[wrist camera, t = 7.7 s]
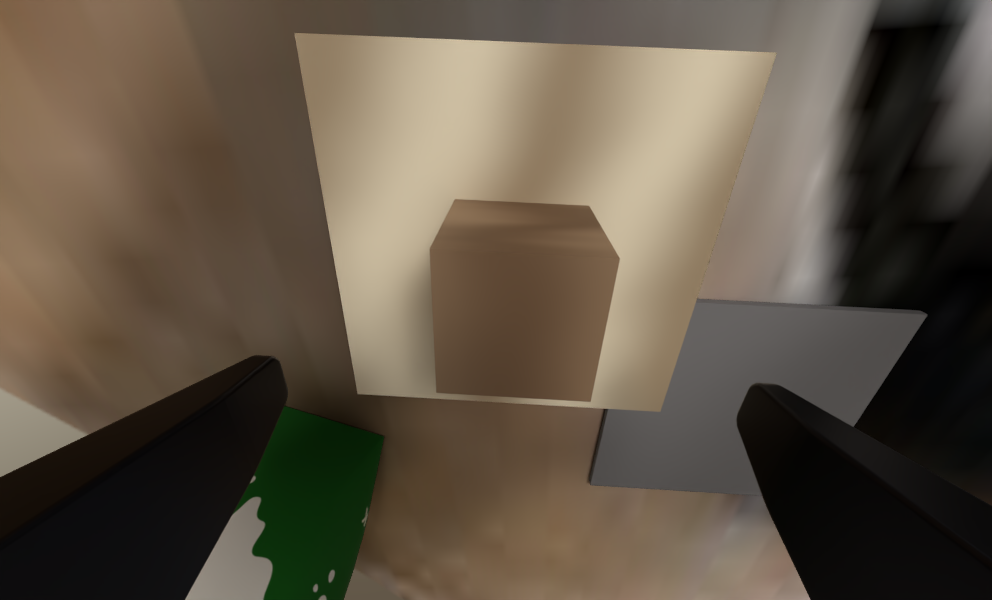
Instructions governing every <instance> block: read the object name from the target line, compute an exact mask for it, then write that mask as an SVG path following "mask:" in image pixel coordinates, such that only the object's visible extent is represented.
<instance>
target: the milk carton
mask: <svg viewBox="0 0 992 600" xmlns="http://www.w3.org/2000/svg"><path fill="white" fill-rule="evenodd" d="M383 441H384V436H381V435H378V434H375V433H371V432H368V431H365V430H361V429H358V428H355V427H352V426H348V425H345V424H342V423H339V422H335V421H332V420H329V419H325V418H322V417H319V416H316V415H312V414H309V413H306V412H302V411H299V410H296V409H293V408H289V407H286V406H284V408H283V411H282V413H281V415H280V417H279V420H278V422H277V424H276V427H275V429H274V431H273V434H272V436H271V438H270V441H269V443H268V445H267V448H266V450H265V452H264V455H263V457H262V459H261V462H260V464H259V466H258V468H257V470H256V472H255V474H254V476H253V478H252V480H251V482H250V484H249V486H248V488H247V489H246V491H245V493H244V495H243V497H242V498H241V500H240V502H239V504H238V506H237V507H236V509H235V511H234V513H233V515H232V516H231V518H230V520H229V522H228V524H227V525H226V527H225V529H224V531H223V532H222V534H221V536H220V538H219V540H218V541H217V543H216V545H215V547H214V549H213V550H212V552H211V554H210V556H209V558H208V559H207V561H206V563H205V565H204V567H203V568H202V570H201V572H200V574H199V576H198V577H197V579H196V581H195V583H194V585H193V586H192V588H191V590H190V592H189V594H188V595H187V597H186V599H185V600H344V597H345V594H346V591H347V588H348V585H349V582H350V579H351V576H352V573H353V570H354V566H355V563H356V559H357V555H358V552H359V548H360V545H361V542H362V538H363V535H364V531H365V527H366V522H367V518H368V513H369V508H370V504H371V499H372V494H373V489H374V484H375V479H376V475H377V470H378V465H379V460H380V455H381V450H382V445H383Z"/></svg>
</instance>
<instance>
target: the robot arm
mask: <svg viewBox="0 0 992 600" xmlns="http://www.w3.org/2000/svg"><path fill="white" fill-rule="evenodd" d="M287 397H288V388H287V384H286V381H285V377H284V374H283V370H282V367H281V363H280V361H279V360H278V358H276V357H274V356H262V355H255V356H251V357H249V358H247V359H245V360H243V361H241V362H239V363H237V364H235V365H232V366H230V367H228V368H226V369H224V370H222V371H220V372H218V373H216V374H214V375H212V376H210V377H208V378H205V379H203V380H201V381H199V382H197V383H195V384H193V385H191V386H189V387H187V388H185V389H183V390H180V391H178V392H176V393H174V394H172V395H170V396H168V397H166V398H164V399H162V400H160V401H158V402H156V403H153V404H151V405H149V406H147V407H145V408H143V409H141V410H139V411H137V412H135V413H133V414H131V415H129V416H126V417H124V418H122V419H120V420H118V421H116V422H114V423H112V424H110V425H108V426H106V427H104V428H101V429H99V430H97V431H95V432H93V433H91V434H89V435H87V436H85V437H83V438H81V439H79V440H77V441H75V442H72V443H70V444H68V445H66V446H64V447H62V448H60V449H58V450H56V451H54V452H52V453H50V454H47V455H45V456H43V457H41V458H39V459H37V460H35V461H33V462H31V463H29V464H27V465H25V466H23V467H20V468H18V469H16V470H14V471H12V472H10V473H8V474H6V475H4V476H2V477H0V600H185V599H186V597H187V595H188V594H189V592H190V590H191V588H192V586H193V585H194V583H195V581H196V579H197V577H198V576H199V574H200V572H201V570H202V568H203V567H204V565H205V563H206V561H207V559H208V558H209V556H210V554H211V552H212V550H213V549H214V547H215V545H216V543H217V541H218V540H219V538H220V536H221V534H222V532H223V531H224V529H225V527H226V525H227V524H228V522H229V520H230V518H231V516H232V515H233V513H234V511H235V509H236V507H237V506H238V504H239V502H240V500H241V498H242V497H243V495H244V493H245V491H246V489H247V488H248V486H249V484H250V482H251V480H252V478H253V476H254V474H255V472H256V470H257V468H258V466H259V464H260V462H261V459H262V457H263V455H264V452H265V450H266V448H267V445H268V443H269V441H270V438H271V436H272V434H273V431H274V429H275V427H276V424H277V422H278V420H279V417H280V415H281V413H282V411H283V408H284V406H285V404H286V401H287ZM736 423H737V428H738V431H739V434H740V436H741V439H742V442H743V445H744V447H745V450H746V453H747V456H748V458H749V461H750V464H751V467H752V469H753V472H754V475H755V478H756V480H757V483H758V486H759V489H760V491H761V494H762V497H763V499H764V502H765V504H766V506H767V509H768V511H769V513H770V515H771V518H772V520H773V522H774V524H775V526H776V528H777V530H778V532H779V534H780V537H781V539H782V541H783V543H784V545H785V547H786V549H787V551H788V553H789V555H790V557H791V560H792V562H793V564H794V566H795V568H796V570H797V572H798V574H799V576H800V578H801V581H802V583H803V585H804V587H805V589H806V591H807V593H808V595H809V597H810V599H811V600H992V506H991V505H989V504H988V503H986V502H984V501H982V500H981V499H979V498H977V497H975V496H973V495H972V494H970V493H968V492H966V491H965V490H963V489H961V488H959V487H958V486H956V485H954V484H952V483H951V482H949V481H947V480H945V479H944V478H942V477H940V476H938V475H937V474H935V473H933V472H931V471H930V470H928V469H926V468H924V467H923V466H921V465H919V464H917V463H916V462H914V461H912V460H910V459H909V458H907V457H905V456H903V455H902V454H900V453H898V452H896V451H895V450H893V449H891V448H889V447H888V446H886V445H884V444H882V443H881V442H879V441H877V440H875V439H873V438H872V437H870V436H868V435H866V434H865V433H863V432H861V431H859V430H858V429H856V428H854V427H852V426H851V425H849V424H847V423H845V422H844V421H842V420H840V419H838V418H837V417H835V416H833V415H831V414H830V413H828V412H826V411H824V410H823V409H821V408H819V407H817V406H816V405H814V404H812V403H810V402H809V401H807V400H805V399H803V398H802V397H800V396H798V395H796V394H795V393H793V392H791V391H789V390H788V389H786V388H784V387H782V386H780V385H778V384H773V383H754V384H752V385H751V386H750V387H749V389H748V391H747V393H746V395H745V397H744V400H743V402H742V404H741V406H740V408H739V411H738V413H737V418H736Z"/></svg>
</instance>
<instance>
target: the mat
mask: <svg viewBox="0 0 992 600" xmlns="http://www.w3.org/2000/svg"><path fill="white" fill-rule="evenodd" d="M926 316H927V314H925V313H924V312H922V311H920V310H901V309H882V308H863V307H844V306H825V305H806V304H786V303H767V302H748V301H729V300H710V299H697V300H696V304H695V307H694V310H693V313H692V316H691V319H690V322H689V325H688V328H687V331H686V334H685V337H684V340H683V344H682V347H681V350H680V353H679V356H678V359H677V362H676V365H675V368H674V371H673V374H672V377H671V381H670V384H669V387H668V390H667V393H666V396H665V399H664V402H663V405H662V408H661V411H660V412H654V411H637V410H620V409H606V410H605V414H604V418H603V423H602V427H601V431H600V436H599V440H598V444H597V449H596V453H595V457H594V462H593V466H592V470H591V475H590V479H589V481H590V485H595V486H612V487H628V488H644V489H660V490H676V491H692V492H708V493H725V494H741V495H757V496H762V494H761V491H760V489H759V486H758V483H757V480H756V478H755V475H754V472H753V469H752V467H751V464H750V461H749V458H748V456H747V453H746V450H745V447H744V445H743V442H742V439H741V436H740V434H739V431H738V428H737V423H736V418H737V413H738V411H739V408H740V406H741V404H742V402H743V400H744V397H745V395H746V393H747V391H748V389H749V387H750V386H751V385H752V384H754V383H773V384H778V385H780V386H782V387H784V388H786V389H788V390H789V391H791V392H793V393H795V394H796V395H798V396H800V397H802V398H803V399H805V400H807V401H809V402H810V403H812V404H814V405H816V406H817V407H819V408H821V409H823V410H824V411H826V412H828V413H830V414H831V415H833V416H835V417H837V418H838V419H840V420H842V421H844V422H845V423H847V424H849V425H851V426H852V427H854V425H855V424H856V422H857V421H858V419H859V418H860V416H861V415H862V413H863V412H864V410H865V409H866V407H867V406H868V404H869V403H870V401H871V399H872V398H873V396H874V395H875V393H876V392H877V390H878V389H879V387H880V386H881V384H882V383H883V381H884V380H885V378H886V377H887V375H888V374H889V372H890V371H891V369H892V368H893V366H894V365H895V363H896V362H897V360H898V359H899V357H900V356H901V354H902V353H903V351H904V350H905V348H906V347H907V345H908V344H909V342H910V341H911V339H912V337H913V336H914V334H915V333H916V331H917V330H918V328H919V327H920V325H921V324H922V322H923V321H924V319H925V318H926Z"/></svg>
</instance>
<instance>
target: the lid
mask: <svg viewBox="0 0 992 600" xmlns="http://www.w3.org/2000/svg"><path fill="white" fill-rule="evenodd" d="M295 39H296V44H297V50H298V56H299V62H300V67H301V73H302V79H303V84H304V90H305V96H306V102H307V107H308V113H309V119H310V125H311V130H312V136H313V142H314V147H315V153H316V159H317V165H318V170H319V176H320V182H321V187H322V193H323V199H324V205H325V210H326V216H327V222H328V228H329V233H330V239H331V245H332V250H333V256H334V262H335V268H336V273H337V279H338V285H339V290H340V296H341V302H342V308H343V313H344V319H345V325H346V330H347V336H348V342H349V348H350V353H351V359H352V365H353V371H354V376H355V382H356V388H357V393H358V394H365V395H382V396H399V397H416V398H433V399H450V400H467V401H484V402H501V403H518V404H535V405H552V406H569V407H586V408H603V409H620V410H637V411H654V412H660V411H661V408H662V405H663V402H664V399H665V396H666V393H667V390H668V387H669V384H670V381H671V377H672V374H673V371H674V368H675V365H676V362H677V359H678V356H679V353H680V350H681V347H682V344H683V340H684V337H685V334H686V331H687V328H688V325H689V322H690V319H691V316H692V313H693V310H694V307H695V304H696V300H697V297H698V294H699V291H700V288H701V285H702V282H703V279H704V276H705V273H706V270H707V267H708V263H709V260H710V257H711V254H712V251H713V248H714V245H715V242H716V239H717V236H718V233H719V230H720V226H721V223H722V220H723V217H724V214H725V211H726V208H727V205H728V202H729V199H730V196H731V193H732V190H733V186H734V183H735V180H736V177H737V174H738V171H739V168H740V165H741V162H742V159H743V156H744V153H745V149H746V146H747V143H748V140H749V137H750V134H751V131H752V128H753V125H754V122H755V119H756V116H757V112H758V109H759V106H760V103H761V100H762V97H763V94H764V91H765V88H766V85H767V82H768V79H769V75H770V72H771V69H772V66H773V63H774V60H775V57H776V54H777V53H770V52H745V51H721V50H696V49H672V48H647V47H623V46H599V45H574V44H550V43H525V42H501V41H476V40H452V39H427V38H403V37H378V36H354V35H329V34H305V33H295Z"/></svg>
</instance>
